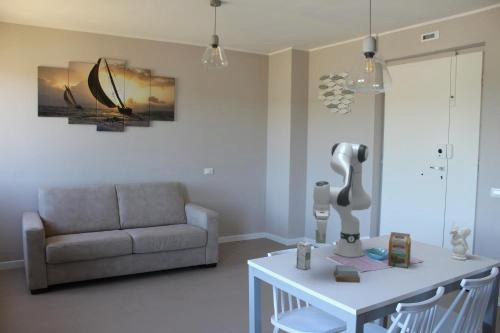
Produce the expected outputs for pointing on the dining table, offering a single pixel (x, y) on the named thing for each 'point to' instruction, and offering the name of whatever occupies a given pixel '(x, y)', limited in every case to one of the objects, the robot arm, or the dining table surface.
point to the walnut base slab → (346, 278)
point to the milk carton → (399, 250)
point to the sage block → (319, 239)
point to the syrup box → (303, 255)
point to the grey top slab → (346, 270)
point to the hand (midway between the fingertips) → (320, 238)
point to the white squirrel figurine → (459, 241)
